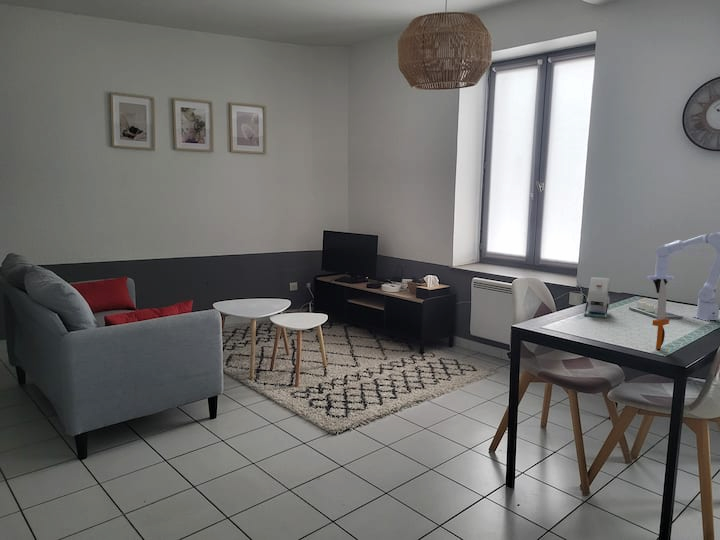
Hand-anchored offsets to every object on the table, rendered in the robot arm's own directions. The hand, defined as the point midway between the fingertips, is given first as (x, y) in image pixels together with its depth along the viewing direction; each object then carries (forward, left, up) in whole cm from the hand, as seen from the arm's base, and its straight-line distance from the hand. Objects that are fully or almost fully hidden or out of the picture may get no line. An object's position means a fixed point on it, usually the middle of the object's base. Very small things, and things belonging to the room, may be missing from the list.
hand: (659, 293), depth 297 cm
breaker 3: (-13, +9, -8) cm, 18 cm away
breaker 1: (+1, +9, -8) cm, 12 cm away
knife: (-67, +51, -10) cm, 85 cm away
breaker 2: (-6, +10, -8) cm, 14 cm away
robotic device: (-3, +37, -10) cm, 39 cm away
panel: (-6, +6, -10) cm, 13 cm away
